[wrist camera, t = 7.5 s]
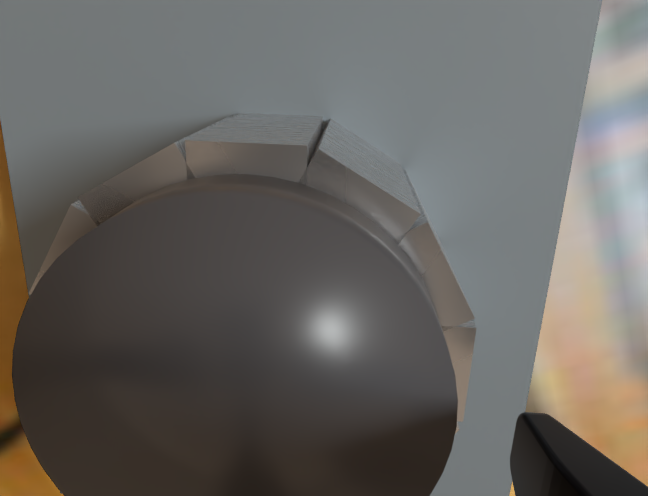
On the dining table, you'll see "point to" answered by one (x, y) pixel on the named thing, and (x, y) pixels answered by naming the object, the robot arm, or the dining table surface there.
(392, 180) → the faceted ring
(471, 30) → the mount plate
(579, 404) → the dining table surface
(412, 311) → the knob
